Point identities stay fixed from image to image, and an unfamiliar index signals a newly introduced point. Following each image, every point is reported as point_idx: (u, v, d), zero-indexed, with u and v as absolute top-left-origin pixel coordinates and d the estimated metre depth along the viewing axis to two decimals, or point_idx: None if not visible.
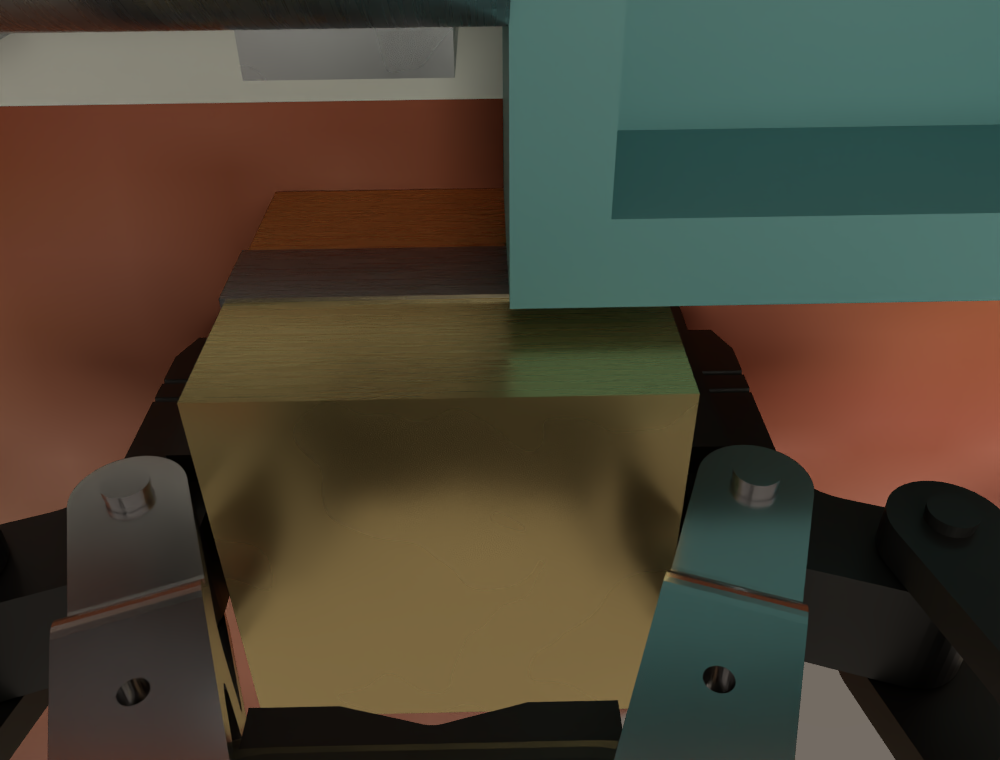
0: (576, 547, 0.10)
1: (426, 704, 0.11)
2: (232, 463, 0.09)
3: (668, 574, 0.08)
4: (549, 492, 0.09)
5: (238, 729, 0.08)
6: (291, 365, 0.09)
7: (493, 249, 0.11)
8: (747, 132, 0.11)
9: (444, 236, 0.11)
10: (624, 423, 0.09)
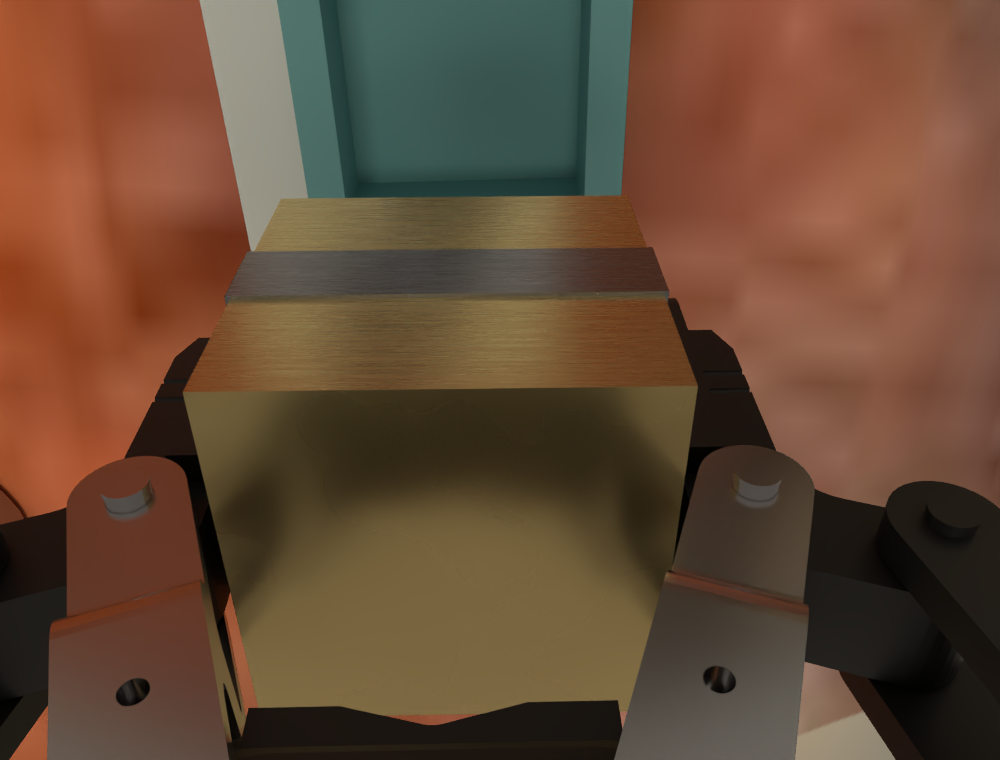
0: (575, 542, 0.10)
1: (425, 705, 0.11)
2: (236, 454, 0.09)
3: (669, 574, 0.08)
4: (549, 485, 0.09)
5: (237, 729, 0.08)
6: (295, 358, 0.09)
7: (494, 251, 0.11)
8: (579, 112, 0.25)
9: (447, 239, 0.12)
10: (623, 416, 0.09)
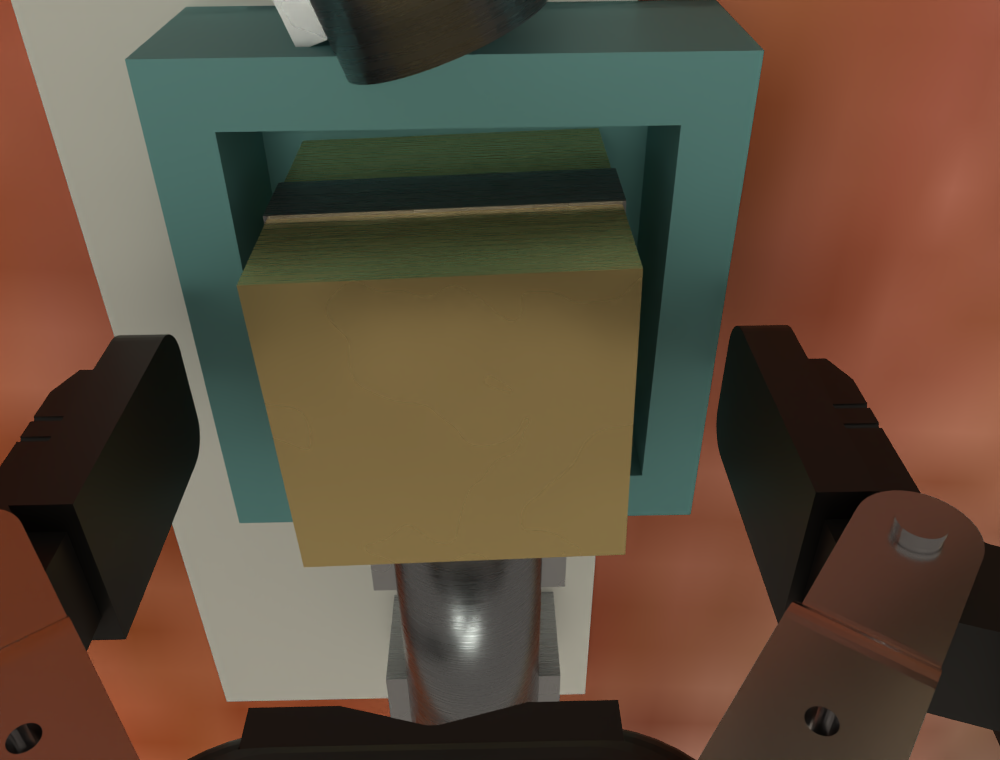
0: (553, 405, 0.12)
1: (438, 553, 0.14)
2: (278, 337, 0.11)
3: (794, 605, 0.07)
4: (529, 356, 0.12)
5: None
6: (322, 259, 0.11)
7: (484, 175, 0.13)
8: None
9: (443, 168, 0.14)
10: (585, 296, 0.11)
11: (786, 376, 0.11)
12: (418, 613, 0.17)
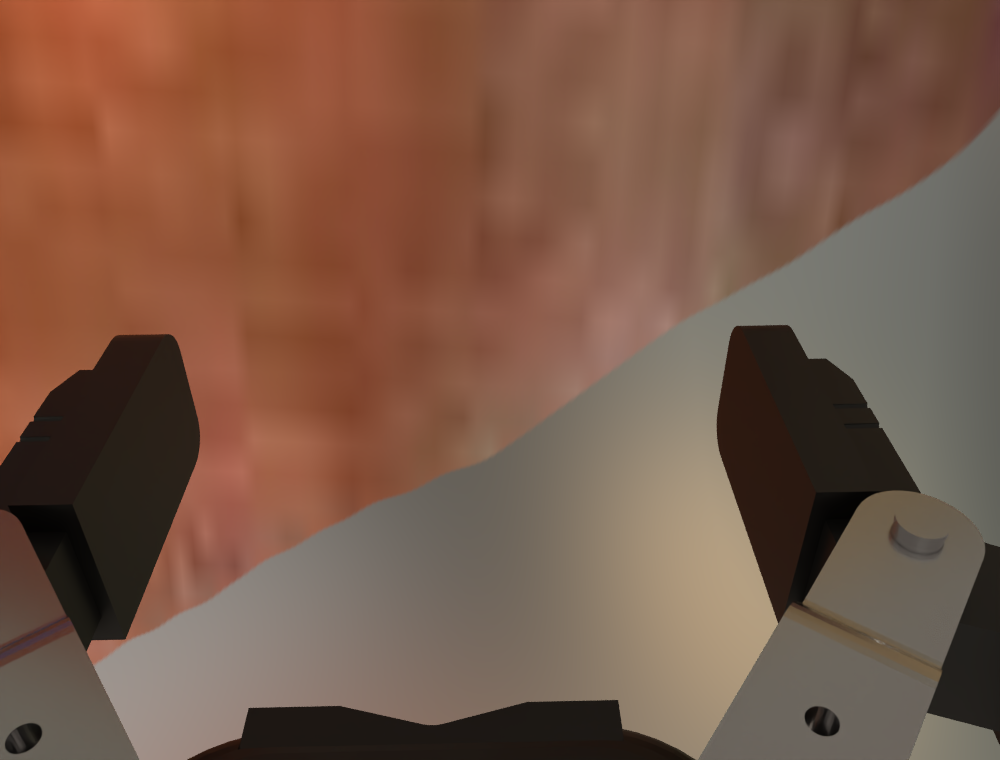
0: None
1: None
2: None
3: (794, 605, 0.07)
4: None
5: None
6: None
7: None
8: None
9: None
10: None
11: (787, 376, 0.11)
12: None
